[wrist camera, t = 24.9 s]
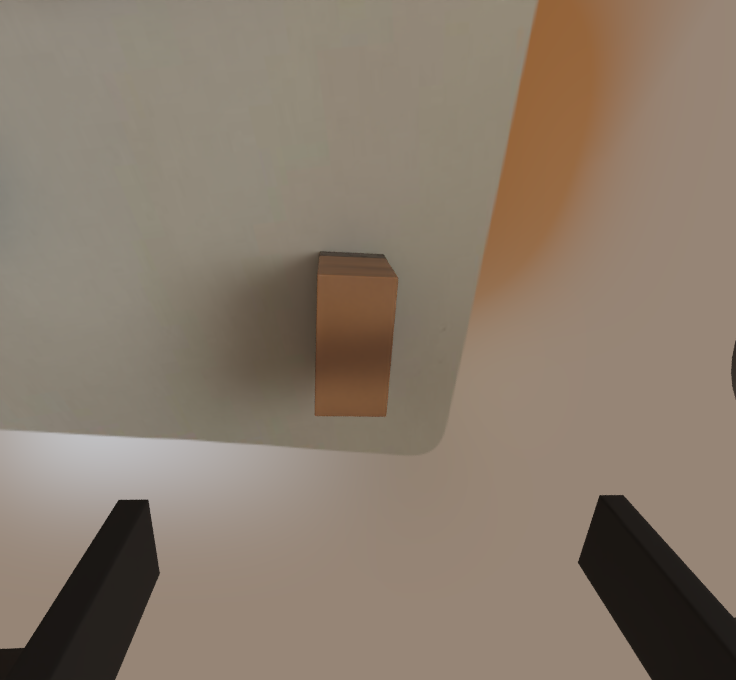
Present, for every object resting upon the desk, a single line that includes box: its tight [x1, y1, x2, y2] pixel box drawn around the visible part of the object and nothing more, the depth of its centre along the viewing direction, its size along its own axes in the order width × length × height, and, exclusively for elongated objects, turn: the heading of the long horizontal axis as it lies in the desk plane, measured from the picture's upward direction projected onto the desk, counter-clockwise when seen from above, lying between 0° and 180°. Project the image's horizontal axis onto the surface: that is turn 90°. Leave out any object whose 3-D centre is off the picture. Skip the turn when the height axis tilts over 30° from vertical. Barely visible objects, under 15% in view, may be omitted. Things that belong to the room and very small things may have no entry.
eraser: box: [315, 252, 398, 417], centre depth 29 cm, size 9×4×7 cm, turn 177°
